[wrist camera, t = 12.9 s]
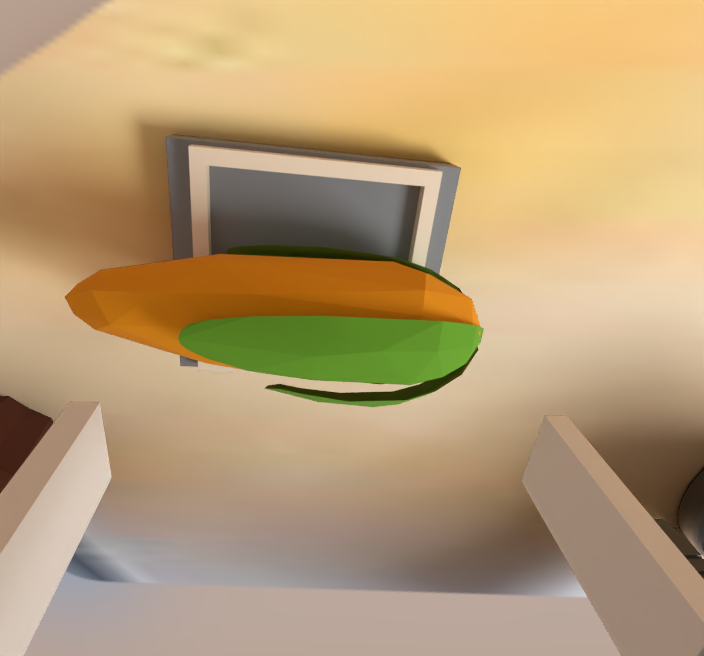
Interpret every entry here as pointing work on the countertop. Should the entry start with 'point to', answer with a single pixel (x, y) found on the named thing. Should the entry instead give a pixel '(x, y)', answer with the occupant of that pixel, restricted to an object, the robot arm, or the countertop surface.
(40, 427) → the muffin
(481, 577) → the countertop surface
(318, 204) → the board
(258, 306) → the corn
